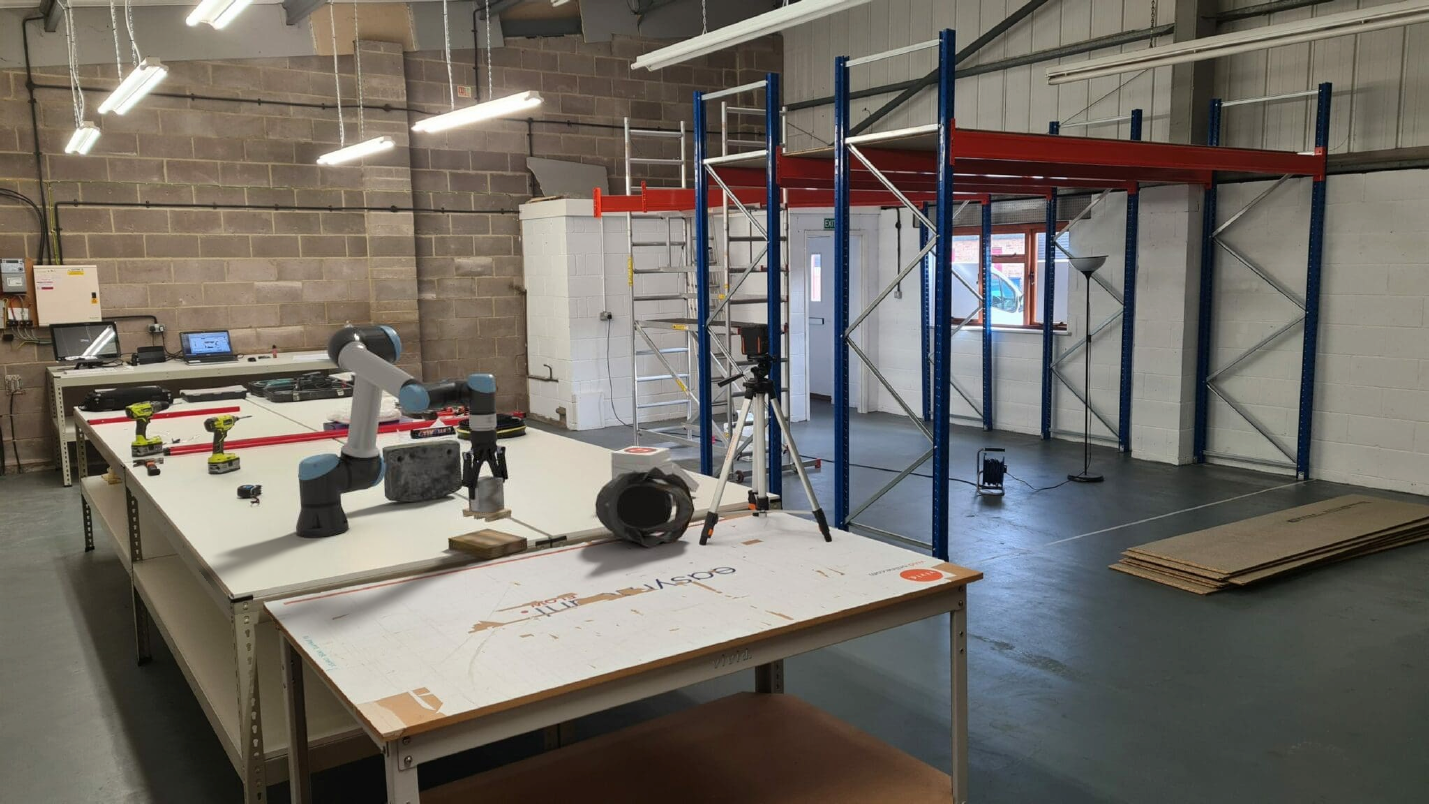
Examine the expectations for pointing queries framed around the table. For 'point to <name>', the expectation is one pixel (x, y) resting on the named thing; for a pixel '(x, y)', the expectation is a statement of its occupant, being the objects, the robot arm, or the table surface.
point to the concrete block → (422, 470)
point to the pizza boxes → (648, 463)
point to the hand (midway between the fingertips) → (486, 507)
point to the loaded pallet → (489, 500)
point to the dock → (487, 543)
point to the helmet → (645, 507)
